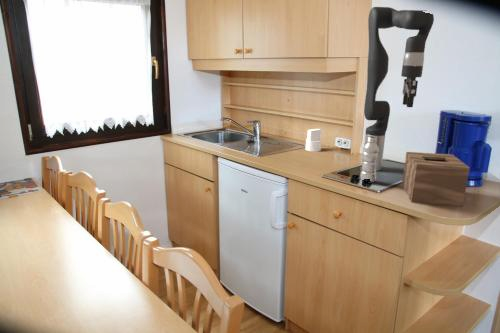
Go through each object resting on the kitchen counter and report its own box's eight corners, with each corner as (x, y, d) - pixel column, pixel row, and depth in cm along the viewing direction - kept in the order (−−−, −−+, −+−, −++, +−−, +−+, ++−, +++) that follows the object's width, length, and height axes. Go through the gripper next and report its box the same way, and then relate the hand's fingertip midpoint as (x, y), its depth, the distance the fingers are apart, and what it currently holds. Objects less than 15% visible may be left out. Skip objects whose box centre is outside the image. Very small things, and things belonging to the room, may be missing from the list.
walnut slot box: (401, 185, 163) (406, 151, 159) (446, 189, 160) (452, 154, 156) (411, 202, 145) (416, 164, 140) (462, 206, 141) (469, 167, 137)
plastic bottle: (376, 184, 164) (381, 139, 159) (360, 183, 165) (365, 138, 160) (374, 180, 170) (379, 136, 165) (359, 178, 172) (363, 135, 166)
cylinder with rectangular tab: (313, 152, 219) (315, 131, 216) (302, 149, 226) (303, 129, 223) (323, 150, 225) (325, 130, 222) (312, 147, 232) (313, 127, 228)
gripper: (399, 64, 157) (394, 103, 162) (406, 64, 144) (400, 107, 148) (418, 64, 156) (413, 104, 160) (427, 65, 143) (421, 108, 147)
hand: (407, 105), depth 154 cm, fingers open, 8 cm apart
